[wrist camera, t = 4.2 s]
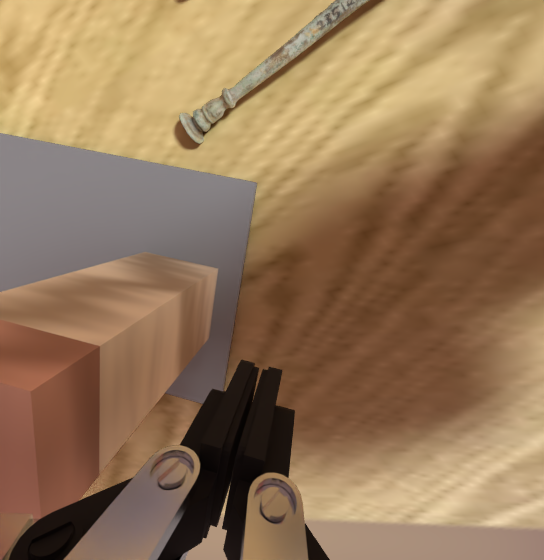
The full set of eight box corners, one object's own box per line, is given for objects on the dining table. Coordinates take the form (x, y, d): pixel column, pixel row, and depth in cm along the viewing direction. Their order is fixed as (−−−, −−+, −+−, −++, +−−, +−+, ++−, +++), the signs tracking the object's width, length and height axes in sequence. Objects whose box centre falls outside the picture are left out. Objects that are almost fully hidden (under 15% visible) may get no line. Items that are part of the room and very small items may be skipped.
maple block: (218, 268, 17) (30, 391, 6) (208, 337, 19) (43, 544, 7) (145, 252, 18) (-160, 336, 6) (141, 321, 19) (-113, 489, 8)
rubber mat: (257, 182, 16) (255, 182, 16) (221, 404, 21) (219, 408, 20) (-39, 125, 18) (-47, 124, 18) (-12, 340, 23) (-17, 342, 22)
